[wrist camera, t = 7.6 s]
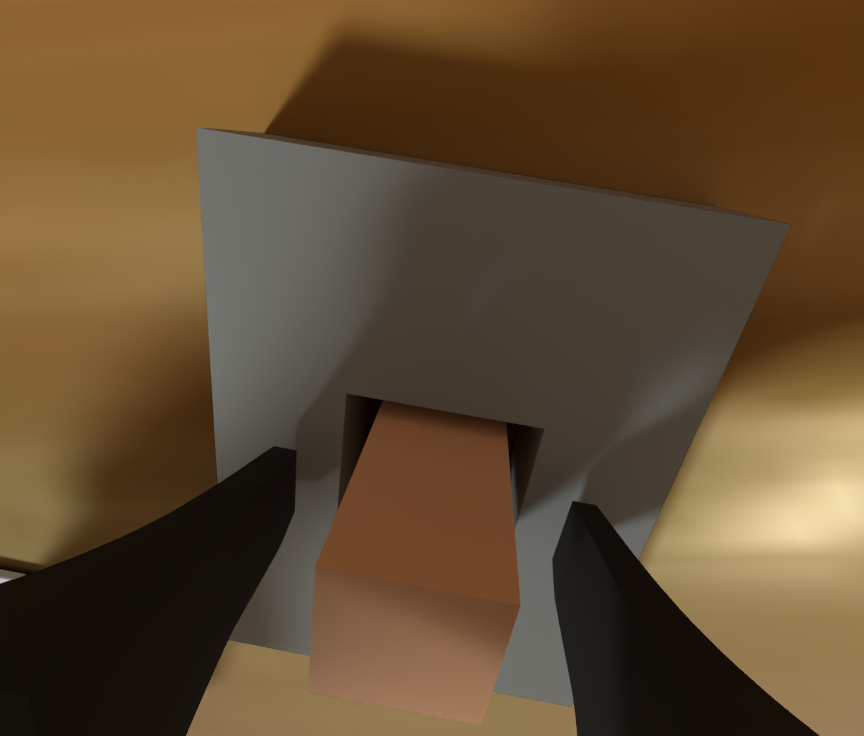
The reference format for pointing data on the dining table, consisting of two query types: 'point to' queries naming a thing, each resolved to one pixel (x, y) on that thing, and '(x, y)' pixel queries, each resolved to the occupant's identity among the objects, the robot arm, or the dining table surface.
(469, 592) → the rust peg
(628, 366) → the grey flat block
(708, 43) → the dining table surface
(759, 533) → the dining table surface
